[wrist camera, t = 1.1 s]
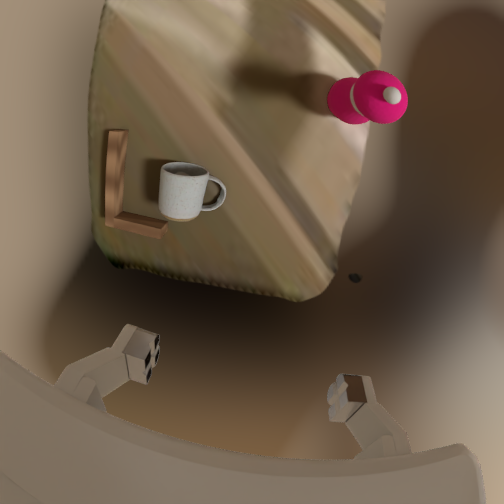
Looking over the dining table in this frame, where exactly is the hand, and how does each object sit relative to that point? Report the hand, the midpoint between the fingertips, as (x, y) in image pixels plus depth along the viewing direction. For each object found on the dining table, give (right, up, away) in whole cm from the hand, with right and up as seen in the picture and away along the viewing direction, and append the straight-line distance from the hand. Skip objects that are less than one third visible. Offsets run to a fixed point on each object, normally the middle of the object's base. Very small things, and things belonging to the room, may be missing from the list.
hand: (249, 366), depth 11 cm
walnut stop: (-20, +18, +35) cm, 44 cm away
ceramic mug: (-9, +16, +35) cm, 40 cm away
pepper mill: (+15, +29, +26) cm, 41 cm away
